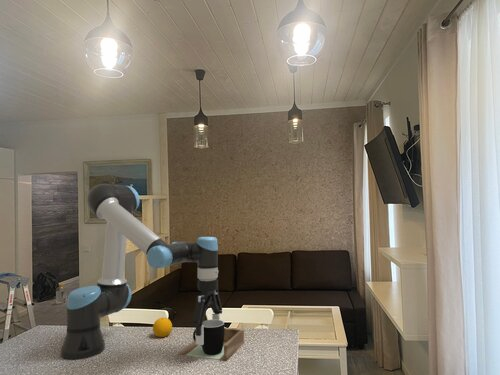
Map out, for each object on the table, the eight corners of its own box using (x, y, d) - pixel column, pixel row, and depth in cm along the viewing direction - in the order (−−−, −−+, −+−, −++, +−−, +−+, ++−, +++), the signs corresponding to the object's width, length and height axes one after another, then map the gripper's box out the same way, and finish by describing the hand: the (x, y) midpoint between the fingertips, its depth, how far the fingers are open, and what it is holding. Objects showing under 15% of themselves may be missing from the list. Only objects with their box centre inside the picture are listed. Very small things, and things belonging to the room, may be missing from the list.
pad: (185, 355, 124) (185, 354, 124) (200, 344, 134) (200, 343, 134) (219, 359, 119) (219, 359, 120) (231, 347, 130) (231, 347, 130)
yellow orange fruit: (168, 331, 153) (168, 313, 154) (175, 336, 147) (174, 318, 147) (150, 335, 149) (150, 317, 149) (156, 340, 142) (156, 321, 143)
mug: (228, 347, 129) (227, 320, 130) (220, 357, 121) (219, 327, 121) (198, 345, 132) (197, 318, 133) (188, 355, 123) (188, 326, 124)
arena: (176, 357, 125) (175, 340, 125) (198, 340, 141) (198, 325, 141) (227, 363, 118) (226, 345, 119) (244, 345, 134) (244, 329, 135)
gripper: (201, 286, 116) (201, 352, 114) (230, 273, 139) (230, 327, 138) (181, 285, 118) (181, 349, 117) (213, 272, 142) (213, 325, 140)
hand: (208, 337), depth 127 cm, fingers open, 13 cm apart
